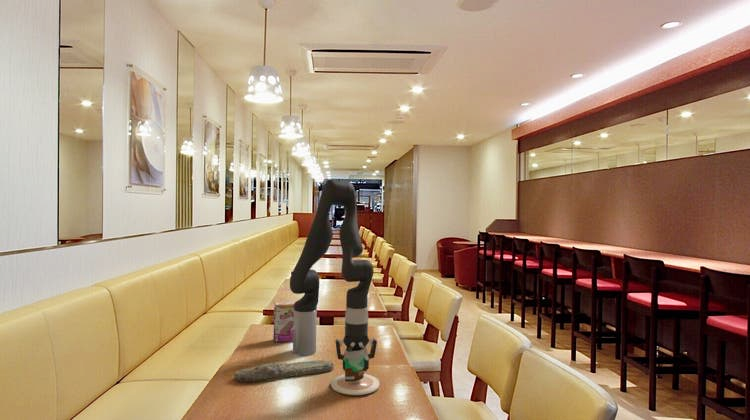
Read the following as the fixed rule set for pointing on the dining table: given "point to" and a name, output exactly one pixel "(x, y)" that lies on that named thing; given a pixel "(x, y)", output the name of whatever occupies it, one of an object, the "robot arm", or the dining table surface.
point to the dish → (355, 385)
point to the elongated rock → (282, 370)
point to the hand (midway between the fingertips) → (355, 370)
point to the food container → (354, 364)
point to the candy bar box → (283, 322)
